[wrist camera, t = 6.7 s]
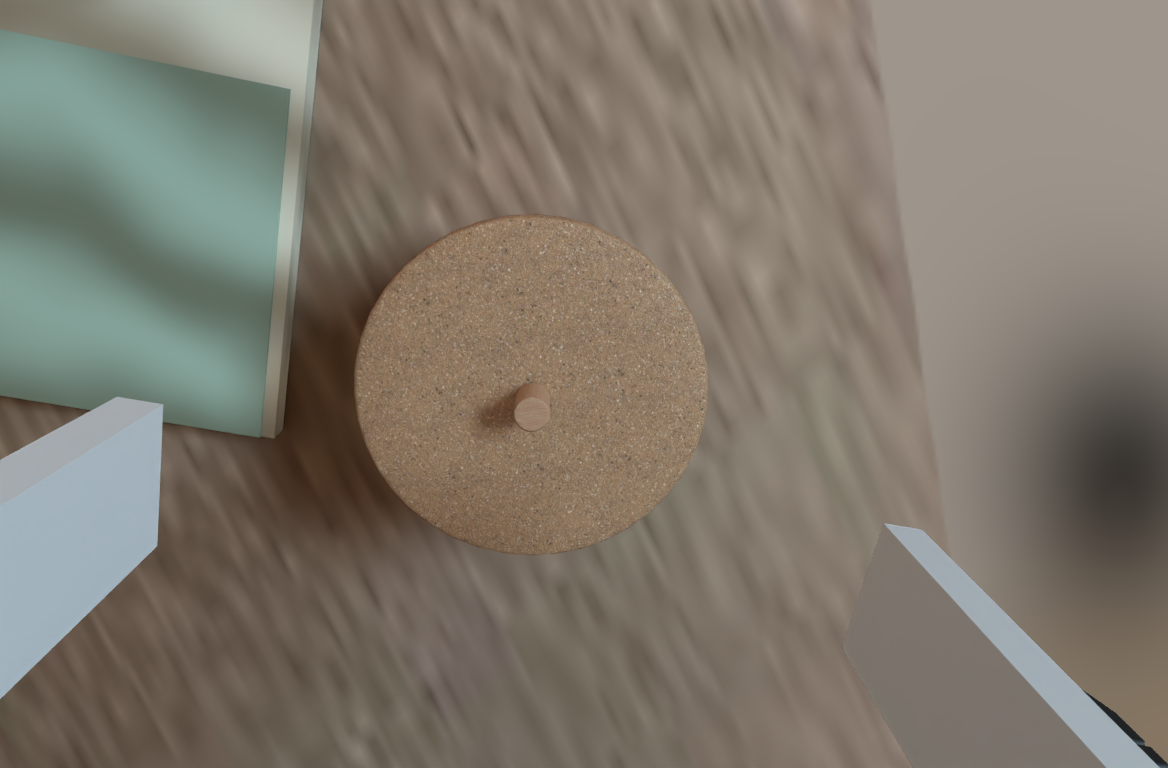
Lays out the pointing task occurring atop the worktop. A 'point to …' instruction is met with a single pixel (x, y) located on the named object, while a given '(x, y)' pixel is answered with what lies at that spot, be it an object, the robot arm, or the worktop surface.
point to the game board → (154, 203)
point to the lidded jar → (531, 384)
